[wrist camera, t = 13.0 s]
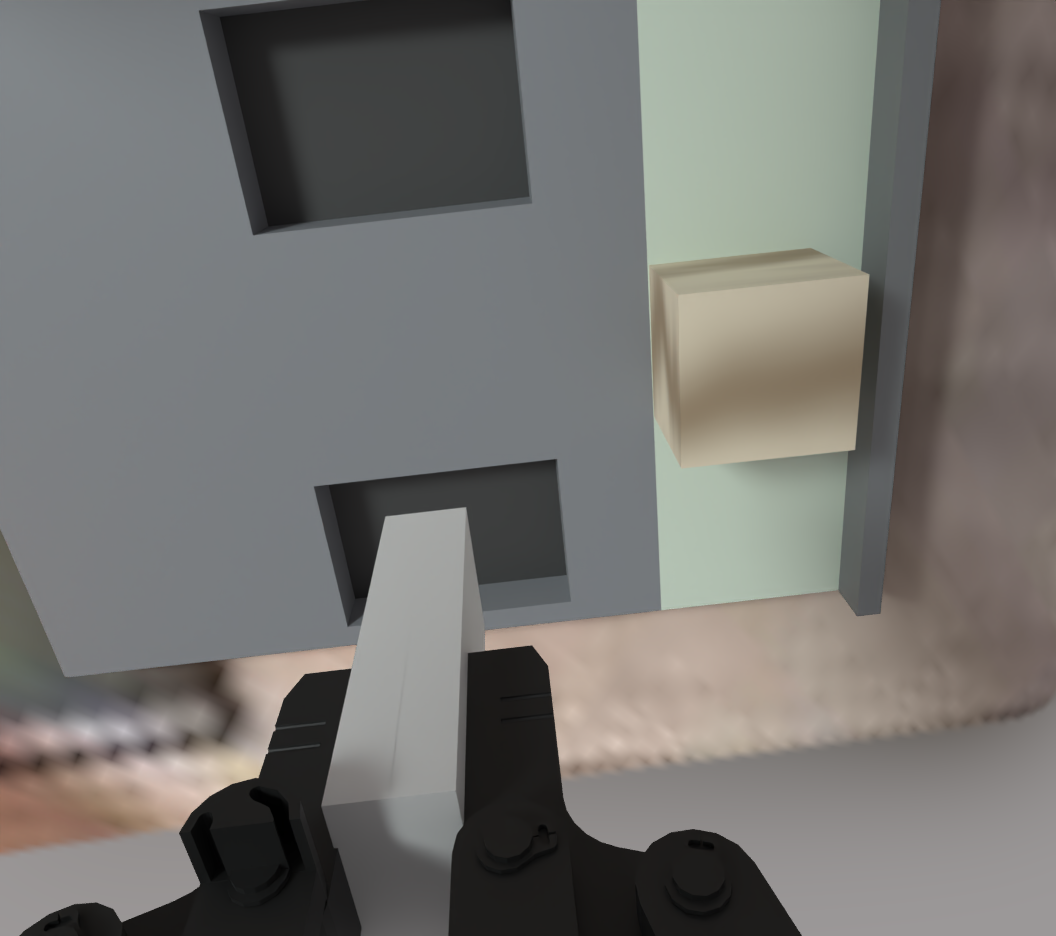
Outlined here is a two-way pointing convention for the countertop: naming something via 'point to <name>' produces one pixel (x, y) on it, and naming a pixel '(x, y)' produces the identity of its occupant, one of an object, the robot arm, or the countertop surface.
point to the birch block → (757, 355)
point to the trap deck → (423, 301)
